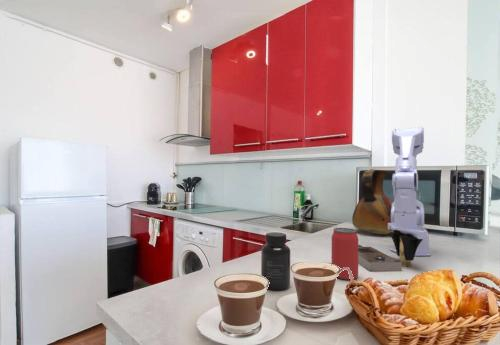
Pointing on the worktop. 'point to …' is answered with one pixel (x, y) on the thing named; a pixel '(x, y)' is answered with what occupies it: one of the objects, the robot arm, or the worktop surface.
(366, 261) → the door strike plate
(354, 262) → the beer can
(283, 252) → the supplement bottle
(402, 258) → the brass pin
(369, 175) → the ceramic pitcher
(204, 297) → the worktop surface
